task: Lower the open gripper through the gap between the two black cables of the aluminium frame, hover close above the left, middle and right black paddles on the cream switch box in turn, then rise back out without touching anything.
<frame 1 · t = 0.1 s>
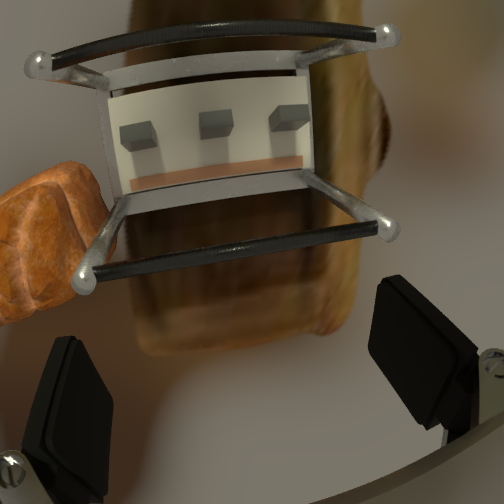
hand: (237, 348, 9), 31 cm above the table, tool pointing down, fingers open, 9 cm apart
paddle middle: (215, 125, 28), point 8 cm above the table, hinge at -18.0°
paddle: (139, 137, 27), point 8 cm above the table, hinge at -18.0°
switch box: (208, 126, 35), on the table
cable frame: (208, 126, 35), on the table
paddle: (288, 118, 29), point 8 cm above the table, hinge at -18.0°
bread: (28, 235, 36), on the table
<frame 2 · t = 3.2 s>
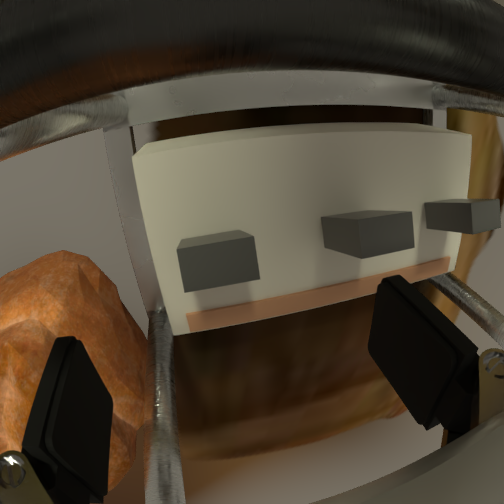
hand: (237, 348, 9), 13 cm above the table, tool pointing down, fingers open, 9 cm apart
paddle middle: (365, 230, 14), point 8 cm above the table, hinge at -18.0°
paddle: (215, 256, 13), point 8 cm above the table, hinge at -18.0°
switch box: (304, 195, 22), on the table
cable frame: (304, 195, 22), on the table
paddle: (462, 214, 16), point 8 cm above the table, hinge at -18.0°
bread: (17, 345, 23), on the table
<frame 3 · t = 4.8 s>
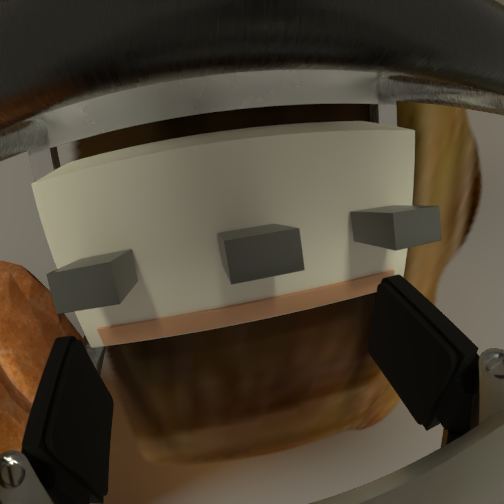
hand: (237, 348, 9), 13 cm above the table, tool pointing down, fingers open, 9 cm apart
paddle middle: (255, 249, 14), point 8 cm above the table, hinge at -18.0°
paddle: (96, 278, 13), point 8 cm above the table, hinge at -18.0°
switch box: (229, 205, 21), on the table
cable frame: (229, 205, 21), on the table
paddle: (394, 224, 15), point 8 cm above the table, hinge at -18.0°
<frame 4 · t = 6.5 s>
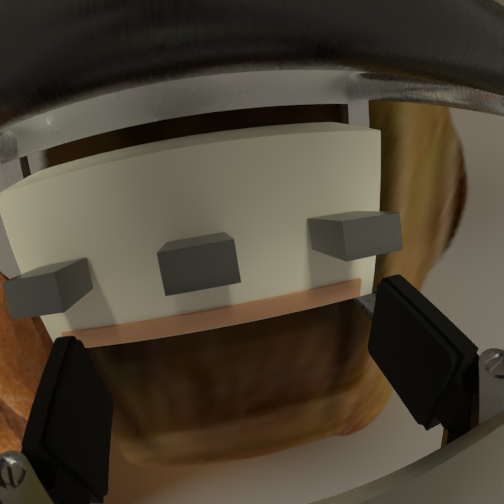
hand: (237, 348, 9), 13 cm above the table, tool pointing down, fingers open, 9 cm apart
paddle middle: (198, 259, 13), point 8 cm above the table, hinge at -18.0°
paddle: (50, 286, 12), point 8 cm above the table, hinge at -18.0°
switch box: (192, 211, 21), on the table
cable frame: (192, 211, 21), on the table
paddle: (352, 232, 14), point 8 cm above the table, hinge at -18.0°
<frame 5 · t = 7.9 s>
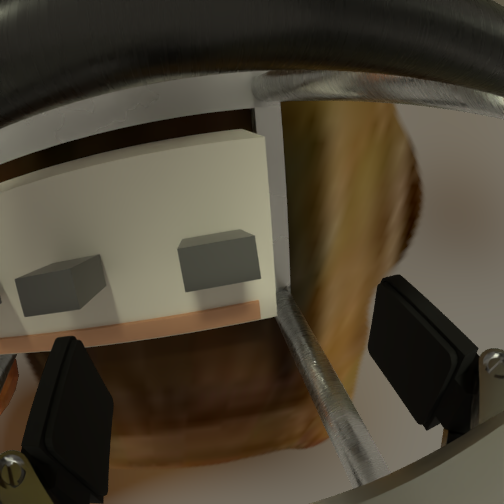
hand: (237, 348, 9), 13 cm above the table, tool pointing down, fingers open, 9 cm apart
paddle middle: (63, 283, 12), point 8 cm above the table, hinge at -18.0°
switch box: (103, 228, 20), on the table
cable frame: (103, 228, 20), on the table
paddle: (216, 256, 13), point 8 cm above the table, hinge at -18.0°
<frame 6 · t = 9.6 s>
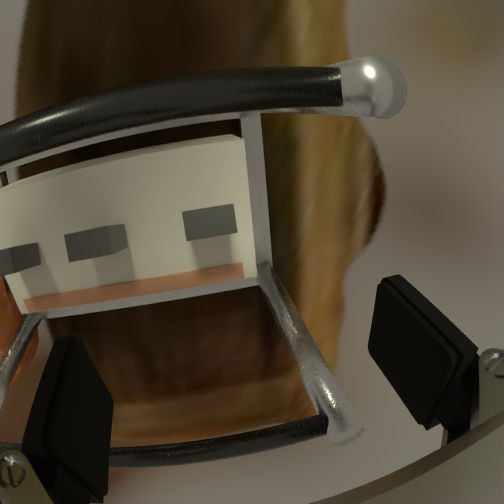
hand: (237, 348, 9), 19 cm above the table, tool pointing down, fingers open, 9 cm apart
paddle middle: (98, 241, 18), point 8 cm above the table, hinge at -18.0°
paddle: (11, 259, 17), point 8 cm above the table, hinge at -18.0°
switch box: (122, 211, 26), on the table
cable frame: (122, 211, 26), on the table
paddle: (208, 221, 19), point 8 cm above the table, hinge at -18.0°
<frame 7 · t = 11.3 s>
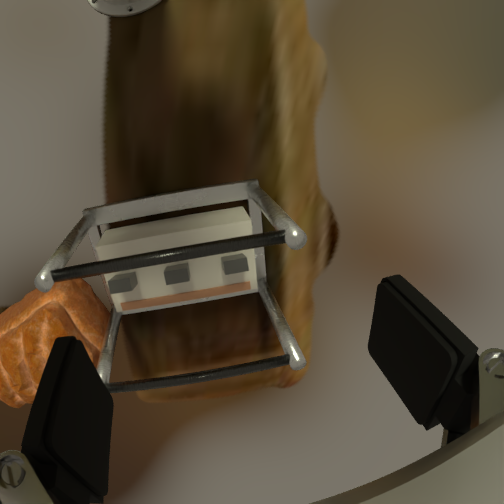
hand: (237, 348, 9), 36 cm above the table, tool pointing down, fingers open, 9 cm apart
paddle middle: (177, 273, 38), point 8 cm above the table, hinge at -18.0°
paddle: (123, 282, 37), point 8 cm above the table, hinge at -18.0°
switch box: (178, 250, 46), on the table
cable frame: (178, 250, 46), on the table
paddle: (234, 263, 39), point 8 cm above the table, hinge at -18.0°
bread: (46, 323, 47), on the table
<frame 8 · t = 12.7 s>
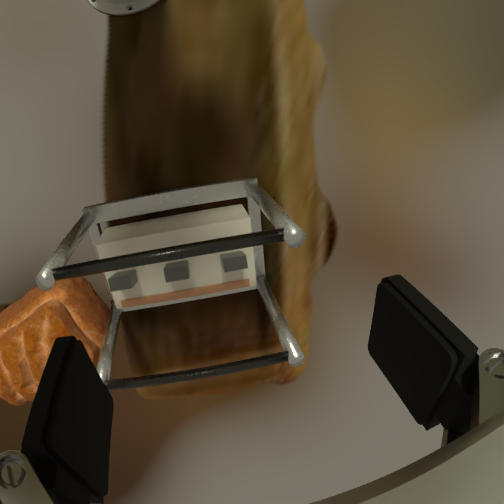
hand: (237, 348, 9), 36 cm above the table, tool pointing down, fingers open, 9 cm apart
paddle middle: (177, 270, 39), point 8 cm above the table, hinge at -18.0°
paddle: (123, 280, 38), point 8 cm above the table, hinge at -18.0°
switch box: (177, 247, 46), on the table
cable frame: (177, 247, 46), on the table
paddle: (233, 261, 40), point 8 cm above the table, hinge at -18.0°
bread: (46, 321, 47), on the table
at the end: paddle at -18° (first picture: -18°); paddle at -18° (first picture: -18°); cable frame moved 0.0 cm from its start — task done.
